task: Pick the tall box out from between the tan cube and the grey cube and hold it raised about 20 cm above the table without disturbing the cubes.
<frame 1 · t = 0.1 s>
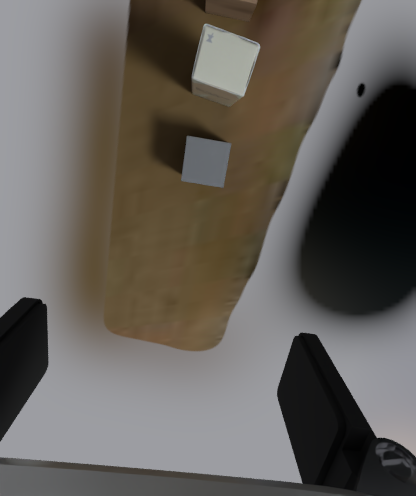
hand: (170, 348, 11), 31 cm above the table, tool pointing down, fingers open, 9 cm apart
box: (217, 82, 36), on the table
grey cube: (205, 159, 39), on the table
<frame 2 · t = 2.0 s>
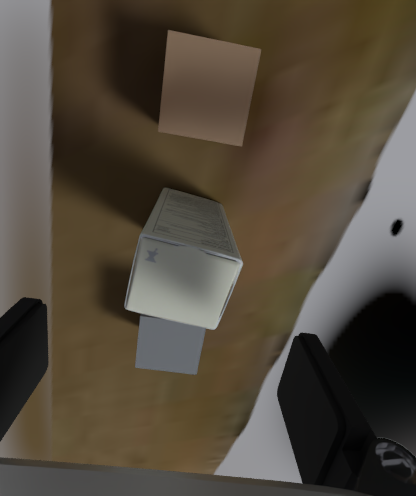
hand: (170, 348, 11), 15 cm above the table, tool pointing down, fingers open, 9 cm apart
box: (188, 218, 25), on the table
tan cube: (206, 99, 21), on the table
grey cube: (175, 310, 28), on the table
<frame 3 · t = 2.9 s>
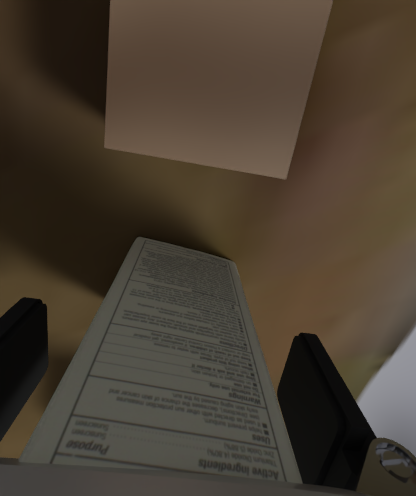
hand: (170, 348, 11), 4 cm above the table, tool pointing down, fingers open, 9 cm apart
box: (179, 283, 15), on the table
tan cube: (208, 86, 12), on the table
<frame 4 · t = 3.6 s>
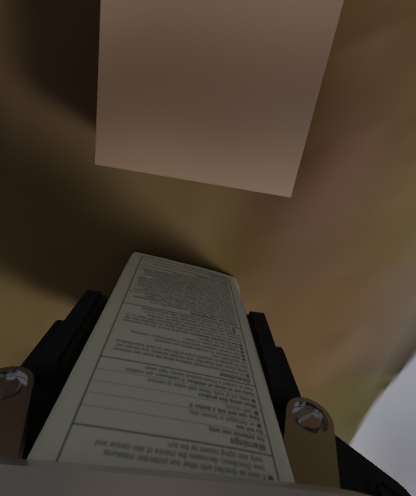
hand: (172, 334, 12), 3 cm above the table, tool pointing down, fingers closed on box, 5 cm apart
box: (178, 299, 15), on the table, touching gripper
tan cube: (207, 96, 11), on the table
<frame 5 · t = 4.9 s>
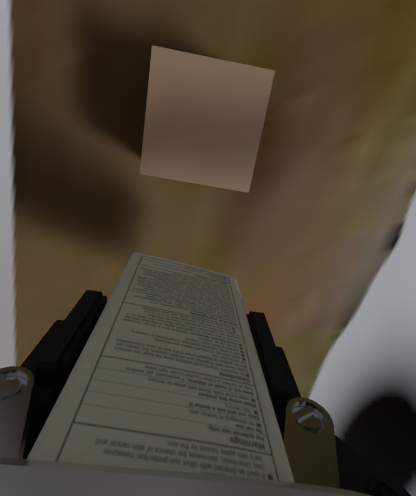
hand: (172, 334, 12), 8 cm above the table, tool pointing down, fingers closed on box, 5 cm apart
box: (178, 299, 15), point 6 cm above the table, touching gripper
tan cube: (202, 130, 17), on the table
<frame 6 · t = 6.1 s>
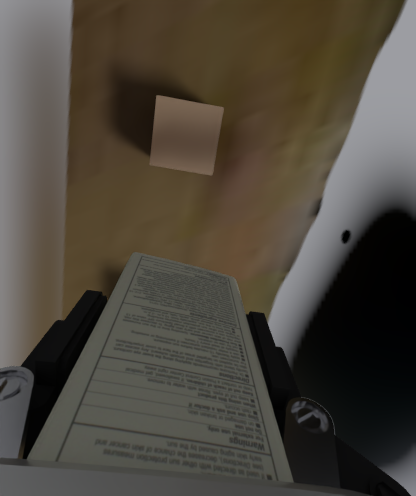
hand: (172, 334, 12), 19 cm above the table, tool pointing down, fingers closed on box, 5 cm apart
box: (177, 299, 15), point 16 cm above the table, touching gripper
tan cube: (188, 138, 27), on the table
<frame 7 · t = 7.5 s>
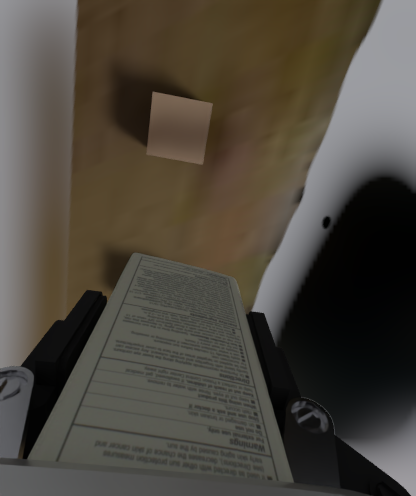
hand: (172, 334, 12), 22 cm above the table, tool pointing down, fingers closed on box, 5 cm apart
box: (177, 300, 15), point 20 cm above the table, touching gripper
tan cube: (182, 130, 30), on the table
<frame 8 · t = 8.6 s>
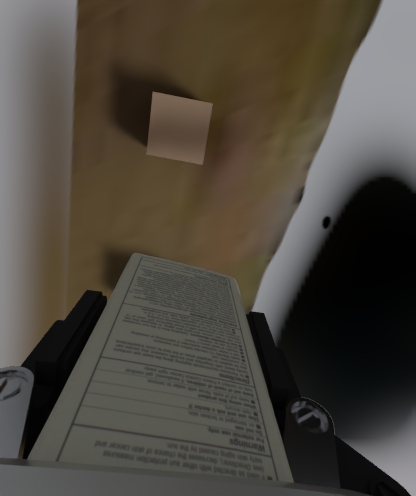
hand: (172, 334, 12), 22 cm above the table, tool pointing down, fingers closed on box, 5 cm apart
box: (177, 300, 15), point 20 cm above the table, touching gripper
tan cube: (182, 130, 30), on the table
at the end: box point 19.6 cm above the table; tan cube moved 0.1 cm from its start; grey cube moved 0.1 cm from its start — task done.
